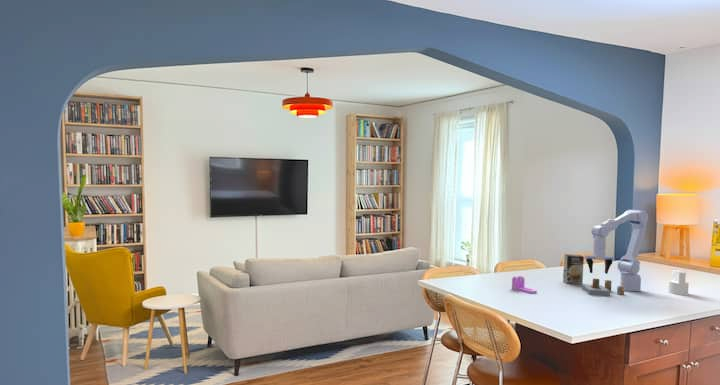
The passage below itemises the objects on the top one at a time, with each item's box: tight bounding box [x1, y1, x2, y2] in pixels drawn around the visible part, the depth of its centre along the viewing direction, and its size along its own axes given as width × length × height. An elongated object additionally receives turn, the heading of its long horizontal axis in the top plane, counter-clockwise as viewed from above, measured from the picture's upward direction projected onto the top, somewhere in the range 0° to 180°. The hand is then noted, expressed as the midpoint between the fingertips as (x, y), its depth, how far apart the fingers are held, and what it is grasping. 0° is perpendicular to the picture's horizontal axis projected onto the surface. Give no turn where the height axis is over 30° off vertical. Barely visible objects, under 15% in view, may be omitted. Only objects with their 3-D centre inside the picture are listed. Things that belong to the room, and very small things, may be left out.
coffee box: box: [562, 253, 585, 285], centre depth 282 cm, size 9×6×16 cm
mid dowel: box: [604, 279, 612, 292], centre depth 264 cm, size 3×3×6 cm
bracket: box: [511, 275, 538, 295], centre depth 258 cm, size 13×6×7 cm, turn 33°
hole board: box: [581, 283, 611, 297], centre depth 259 cm, size 10×14×2 cm
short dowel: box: [616, 285, 625, 296], centre depth 256 cm, size 3×3×4 cm
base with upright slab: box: [667, 269, 689, 296], centre depth 262 cm, size 9×9×12 cm
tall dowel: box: [591, 277, 600, 289], centre depth 259 cm, size 3×3×7 cm
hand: (598, 273), depth 262 cm, fingers open, 7 cm apart
